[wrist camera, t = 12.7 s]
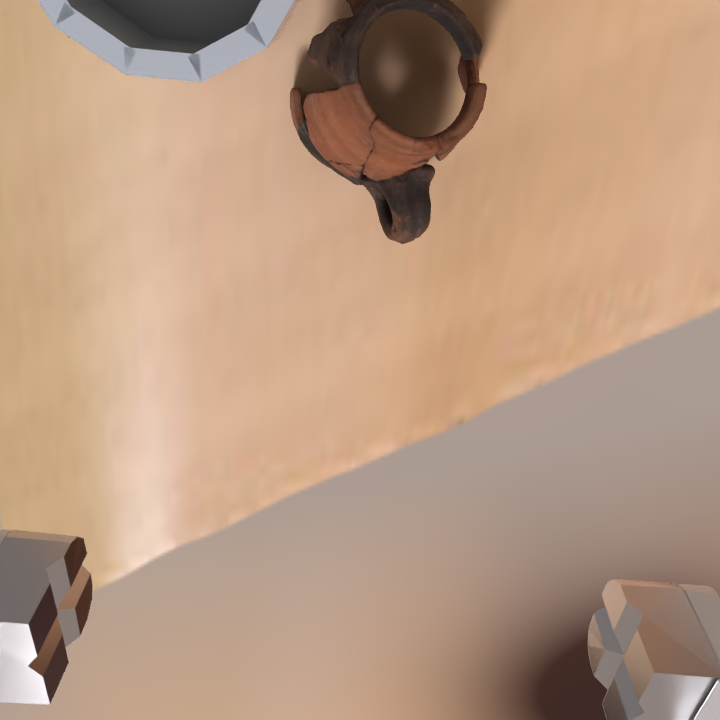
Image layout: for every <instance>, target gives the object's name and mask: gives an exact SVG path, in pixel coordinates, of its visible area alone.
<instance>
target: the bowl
mask: <svg viewBox="0 0 720 720" xmlns="http://www.w3.org/2000/svg"><path fill="white" fill-rule="evenodd" d="M299 1H300V0H38V2H39V3H40V5H41V6H42V8H43V10H44V11H45V13H46V14H47V16H48V18H49V19H50V21H51V22H52V24H53V25H54V26H55V27H56V28H57V29H59V30H60V31H62V32H63V33H65V34H66V35H67V36H69V37H70V38H72V39H73V40H75V41H76V42H78V43H79V44H81V45H82V46H84V47H85V48H87V49H88V50H90V51H91V52H93V53H94V54H96V55H97V56H98V57H100V58H101V59H103V60H104V61H106V62H107V63H109V64H110V65H112V66H113V67H115V68H116V69H118V70H119V71H121V72H122V73H124V74H125V75H132V76H142V77H152V78H162V79H172V80H182V81H193V82H203V81H205V80H207V79H209V78H211V77H212V76H214V75H216V74H218V73H220V72H222V71H224V70H226V69H228V68H230V67H231V66H233V65H235V64H237V63H239V62H241V61H243V60H245V59H247V58H249V57H250V56H252V55H254V54H256V53H258V52H260V51H262V50H264V49H266V48H267V47H268V46H270V45H271V44H272V43H273V42H274V41H275V40H276V39H278V38H279V36H280V34H281V33H282V31H283V29H284V27H285V26H286V24H287V22H288V21H289V19H290V17H291V15H292V14H293V12H294V10H295V8H296V7H297V5H298V3H299Z"/></svg>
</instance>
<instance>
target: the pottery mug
mask: <svg viewBox="0 0 720 720" xmlns="http://www.w3.org/2000/svg"><path fill="white" fill-rule="evenodd" d="M346 1H347V2H348V3H349V4H350V7H351V10H352V13H353V16H352V17H351V18H341V19H339V20H337V21H335V22H332V23H331V24H330V25H329V26H328V27H327V28H326V29H325V30H324V32H322V33H320V34H317V35H316V36H314V37H313V39H312V41H311V44H310V47H309V50H308V53H307V60H308V61H309V62H311V63H319V65H320V66H321V68H322V69H323V70H325V71H326V72H327V73H328V74H329V75H330V76H331V77H332V79H333V80H334V81H335V82H336V84H337V85H338V88H335V89H329V90H326V91H321V92H311V93H308V94H307V97H306V98H305V100H304V104H303V110H304V114H305V117H306V119H304V115H303V110H302V98H301V90H300V89H299V88H292V89H291V92H290V108H291V114H292V118H293V122H294V125H295V128H296V130H297V133H298V135H299V137H300V140H301V141H302V143H303V144H304V146H305V147H306V148H307V150H308V151H309V152H310V153H311V154H312V155H313V156H314V157H315V158H316V159H317V160H318V161H320V162H321V163H323V164H324V165H326V166H327V167H329V168H331V169H332V170H334V171H335V172H336V173H338V174H339V175H341V176H343V177H344V178H346V179H348V180H349V181H351V182H352V183H354V184H356V185H364V186H365V187H366V189H367V190H368V191H369V192H370V194H371V195H372V197H373V199H374V201H375V203H376V208H377V212H378V216H379V220H380V223H381V226H382V228H383V231H384V233H385V235H386V236H387V237H388V238H389V239H391V240H394V241H397V242H399V243H401V244H404V243H408V242H411V241H413V240H414V239H415V238H418V237H420V236H421V235H422V234H423V233H424V232H425V231H426V229H427V228H428V225H429V222H430V213H431V202H430V196H429V186H430V182H431V180H432V178H433V177H434V174H435V169H434V167H433V166H431V165H428V164H426V163H427V162H428V161H429V159H431V158H432V157H433V156H436V158H437V159H438V160H439V161H441V160H442V159H444V158H445V157H446V156H447V155H448V154H449V153H450V152H451V151H452V150H453V149H454V147H455V146H456V145H457V143H458V142H459V141H460V140H461V139H462V138H463V137H465V136H466V134H467V133H468V132H469V131H470V130H471V129H472V128H473V126H474V124H475V123H476V121H477V120H478V118H479V115H480V113H481V111H482V109H483V105H484V101H485V97H486V90H487V86H486V84H484V83H479V71H478V66H477V62H476V59H475V58H476V57H478V55H479V53H480V51H481V48H482V43H481V40H480V38H479V36H478V34H477V32H476V30H475V28H474V27H473V25H472V24H471V23H470V22H469V20H468V19H467V17H466V16H465V15H464V13H463V12H462V11H461V10H460V9H459V8H458V7H457V6H456V5H455V4H454V3H453V2H451V1H449V0H346ZM397 9H412V10H417V11H419V12H422V13H425V14H426V15H428V16H430V17H431V18H433V19H435V20H436V21H438V22H439V23H440V24H441V25H442V26H443V27H445V29H446V30H447V31H448V32H449V33H450V34H451V36H452V37H453V39H454V40H455V42H456V44H457V45H458V47H459V50H460V52H461V54H462V58H461V60H460V63H459V65H458V74H459V78H460V81H461V84H462V87H463V90H464V92H465V93H466V95H465V100H464V103H463V106H462V109H461V111H460V113H459V115H458V116H457V118H456V119H455V121H454V122H453V123H452V124H451V125H450V126H449V127H448V128H447V129H445V130H444V131H442V132H440V133H438V134H436V135H434V136H430V137H413V136H409V135H406V134H403V133H400V132H398V131H396V130H395V129H393V128H391V127H390V126H389V125H387V124H386V123H385V122H384V121H383V120H382V119H381V118H380V117H378V116H377V114H376V113H375V111H374V110H373V108H372V107H371V105H370V104H369V102H368V100H367V98H366V96H365V93H364V90H363V87H362V85H361V82H360V80H359V68H358V61H359V51H360V47H361V44H362V41H363V38H364V36H365V34H366V32H367V30H368V29H369V27H370V26H371V24H372V23H373V22H374V20H375V19H377V18H378V17H379V16H381V15H383V14H385V13H387V12H389V11H392V10H397ZM363 173H365V175H364V174H363Z"/></svg>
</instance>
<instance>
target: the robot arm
mask: <svg viewBox="0 0 720 720" xmlns="http://www.w3.org/2000/svg"><path fill="white" fill-rule="evenodd" d="M86 555H87V551H86V547H85V543H84V538H81V537H76V536H66V535H57V534H48V533H38V532H29V531H20V530H7V529H0V702H7V703H27V704H49V705H50V704H51V701H52V699H53V697H54V695H55V692H56V690H57V688H58V685H59V683H60V681H61V679H62V677H63V674H64V672H65V670H66V667H67V665H68V663H69V662H68V657H67V653H66V648H65V647H66V646H68V645H69V644H70V643H72V642H73V641H74V640H75V639H77V638H78V637H79V636H80V635H81V633H82V630H83V628H84V626H85V623H86V621H87V619H88V614H89V610H90V606H91V601H92V579H91V573H89V572H88V571H87V570H86V569H85V568H84V567H83V566H82V563H83V561H84V559H85V557H86ZM602 597H603V600H604V603H605V607H603V608H602V609H600V610H599V611H597V612H596V613H594V615H593V618H592V621H591V623H590V626H589V632H588V633H589V634H588V651H589V659H590V663H591V667H592V670H593V674H594V676H595V677H596V678H597V679H598V680H599V681H600V682H601V683H602V684H603V685H604V686H605V688H607V690H608V692H607V694H606V696H605V698H604V701H603V703H602V705H603V708H604V711H605V715H606V718H607V720H720V598H719V596H718V594H717V593H716V592H715V591H714V590H713V589H712V588H711V587H709V586H699V585H686V584H673V583H664V582H650V581H635V580H620V579H612V580H611V581H609V582H608V583H607V584H606V587H605V588H604V591H603V593H602Z"/></svg>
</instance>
